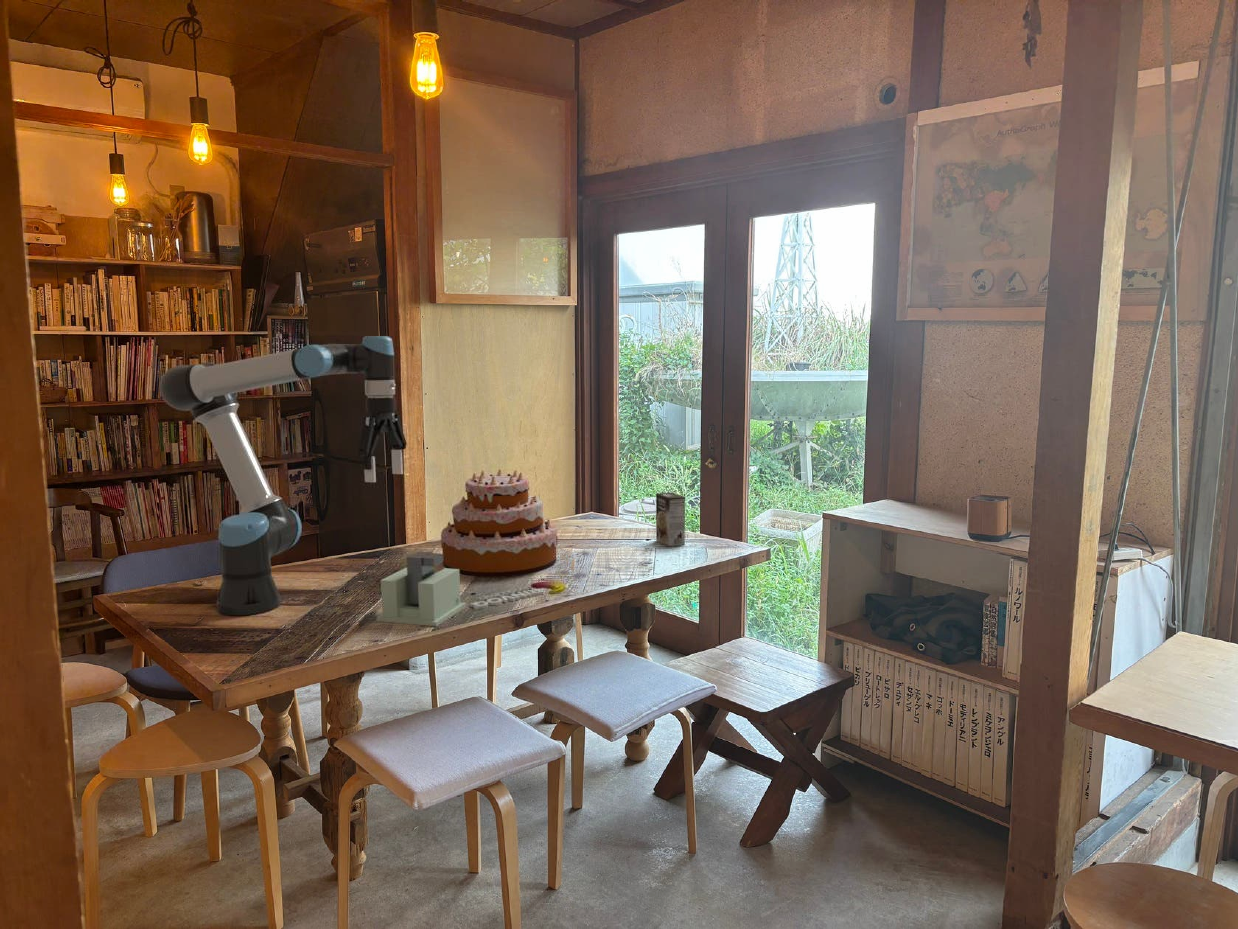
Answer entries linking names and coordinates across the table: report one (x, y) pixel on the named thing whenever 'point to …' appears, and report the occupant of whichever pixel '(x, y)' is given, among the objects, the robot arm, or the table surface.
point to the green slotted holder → (421, 598)
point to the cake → (498, 529)
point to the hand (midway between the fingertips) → (384, 478)
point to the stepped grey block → (420, 572)
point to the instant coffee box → (670, 519)
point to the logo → (518, 594)
